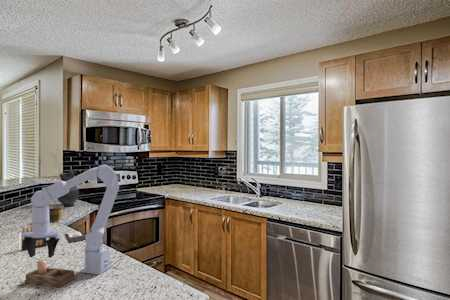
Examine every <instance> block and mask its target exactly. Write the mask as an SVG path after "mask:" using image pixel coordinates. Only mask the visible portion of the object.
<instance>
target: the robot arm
mask: <svg viewBox="0 0 450 300" xmlns="http://www.w3.org/2000/svg"><path fill="white" fill-rule="evenodd" d="M117 177H118V176H117V173H116V171H115V170H114V169H113V168H112V167H111V166H109V165H108V164H101V165H99V166H95V167H92V168H91V169H90V168H89V169H88V170H85V171H83V172H82V173H80V174H78V176H76V177H75V176H73V178H72V179H70V180H68V181H61V180H55V181H54V182H53V184H50V185H48V186H46V187H42V188H41V190H38V191H36V192H35V193H33V195H31V198H30V202H31V205H32V207H31V210H32V211H31V218H32V219H31V220H32V221H31V222H32V224H31V225H32V230H33V232H31V231H29V232H26V231H25V233H22V232H21V244H22V243H23V244H24V245H25V247H26V248H27V250H26V251H27V254H28V255H29V258H33V257H35V256H36V248H35V246H36V240H37V238H46V243H47V246H46V247H47V251H48V253H47V254H48V258H52V257H54V256H55V251H56V247H57V245H58V243H59V242H60V239H61V237H62V234H61V233H62V232H61V231H60V232H59V231H51V229H50V225H51V224H50V223H51V222H50V220H49V208H48V207H49V202H51V201H52V202H53V201H55V200H58V199H57V198H59V197H61V196H63V195H65V194H67V193H68V192H69V189H70V188H72V187H74V186H76V187H77V186H79V185H81V184H83V183H85V182H87V181H90V180H95V181H98V178H99V179H100V181H101V182H103V184H104V186H105V189H106V190H105V192H104V195H103V197H102V201H101V202H100V205H99V207H98V211H97V213H96V217H95V219H94V222H93V224H92V226H91V228H90V230H89V231H88V232H87V233H86V234H85V236H86V237H85V247H84V268H83V269H81V270H80V271H79V272H80V273H82V274H84V273H85V274H92V275H101V274H103V273H104V272H106V271H107V270H109V269H111V268H112V265H111V253H110V250H109V249H106V248H104V245H103V244H104V240H103V237H104V235H105V228H106V225H107V222H108V220H109V217H110V215H111V211H112V209H113V207H114V204H115V200H116V198H117V195H118V192H119V190H120V184H119V181H118V178H117ZM22 239H24V240H23V241H22Z"/></svg>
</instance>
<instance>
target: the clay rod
mask: <svg viewBox="0 0 450 300" xmlns="http://www.w3.org/2000/svg"><path fill="white" fill-rule="evenodd" d="M36 263H37V269H36V270H37V272H38V275H43V274H45V273H47V270H46V267H47V259H41V260H40V259H39V260H38V261H36Z"/></svg>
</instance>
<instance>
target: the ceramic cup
mask: <svg viewBox="0 0 450 300" xmlns="http://www.w3.org/2000/svg"><path fill="white" fill-rule="evenodd" d="M48 208H49V221H50V223H51V224H52V223H55V224H56V223H60V222H62V218H63V212H64V208H65V207H64V206H62V205H50V206H48Z"/></svg>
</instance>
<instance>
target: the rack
mask: <svg viewBox="0 0 450 300" xmlns="http://www.w3.org/2000/svg"><path fill="white" fill-rule="evenodd" d="M46 270H47V273H45V274H43V275H38V272H37V269H35V270H32V271H30V272H28V273H26V274H25V279H24V283H26V284H32V285H33V284H34V285H40V286H47V287H52V288H61V287H63V286H64V285H66V284H68V283H70V282H71V281H73V280H75V279H76V275H75V270H72V269H64V268H54V267H48V266H46Z"/></svg>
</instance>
